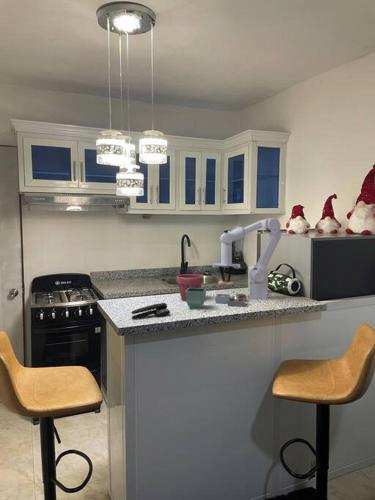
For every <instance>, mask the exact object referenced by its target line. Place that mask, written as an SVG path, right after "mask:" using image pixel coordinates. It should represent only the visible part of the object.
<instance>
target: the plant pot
mask: <svg viewBox="0 0 375 500" xmlns="http://www.w3.org/2000/svg"><path fill="white" fill-rule="evenodd" d="M176 284H178V290H179V294H180V298H181V300H182V301H185V302H187V300H186V292H185V291H186V290H187V289H188V288H202V284H204V276H203V274H196V273H194V274H189V273H188V274H187V273H186V274H178V275H177V276H176Z"/></svg>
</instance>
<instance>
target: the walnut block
mask: <svg viewBox="0 0 375 500" xmlns="http://www.w3.org/2000/svg"><path fill="white" fill-rule="evenodd" d="M235 296H238V298H245V303H246V302H247V294H245V293H236V294H235Z"/></svg>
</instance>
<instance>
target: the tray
mask: <svg viewBox="0 0 375 500" xmlns="http://www.w3.org/2000/svg"><path fill="white" fill-rule="evenodd" d="M245 303H246V302H245V298H238V301H234V297H230V299H228V304H227V307H239V308H241V307H242V308H244V307H245V306H246V305H245Z"/></svg>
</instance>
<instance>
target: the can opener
mask: <svg viewBox="0 0 375 500" xmlns="http://www.w3.org/2000/svg"><path fill="white" fill-rule="evenodd" d="M170 314H171V311H170V310H169V308H168V305H167V303H166V302H161V303H153V304H151V305H147V306H143V307H140V308H137V309H135V310H133V311H131V315H132V317H131V319H132V320H138V319H142V318H145V317H148V316H151V315H155V316H157V317H159V318H162V317H165V316H168V315H170ZM137 318H138V319H137Z"/></svg>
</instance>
